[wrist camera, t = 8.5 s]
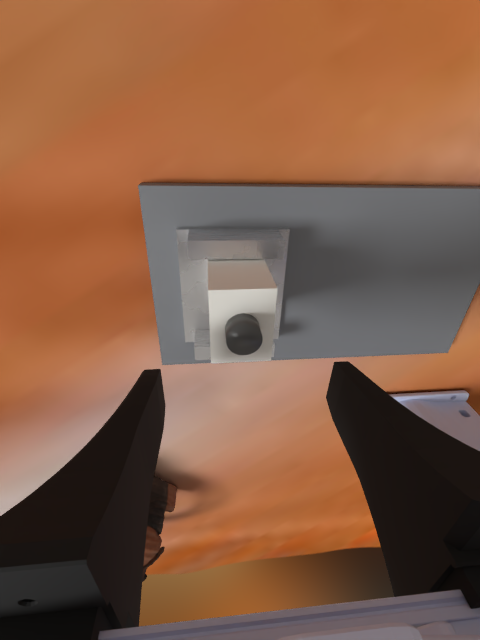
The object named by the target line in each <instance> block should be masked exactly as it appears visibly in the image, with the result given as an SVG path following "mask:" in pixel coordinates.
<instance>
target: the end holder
mask: <svg viewBox="0 0 480 640" xmlns="http://www.w3.org/2000/svg"><path fill="white" fill-rule="evenodd" d="M289 232H290V229H289V228H176V235H177V247H178V259H179V271H180V283H181V295H182V307H183V320H184V332H185V342H194V352H195V360H211V350H210V324H209V298H208V260H217V259H264V260H265V262H266V264H267V266H268V269H269V271H270V273H271V275H272V277H273V280H274V282H275V284H276V286H277V299H276V311H275V322H274V333H273V339H278V337H279V327H280V317H281V308H282V298H283V289H284V279H285V270H286V260H287V251H288V241H289ZM274 349H275V343H274V340H273V345H272V356H271V357H274Z"/></svg>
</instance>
